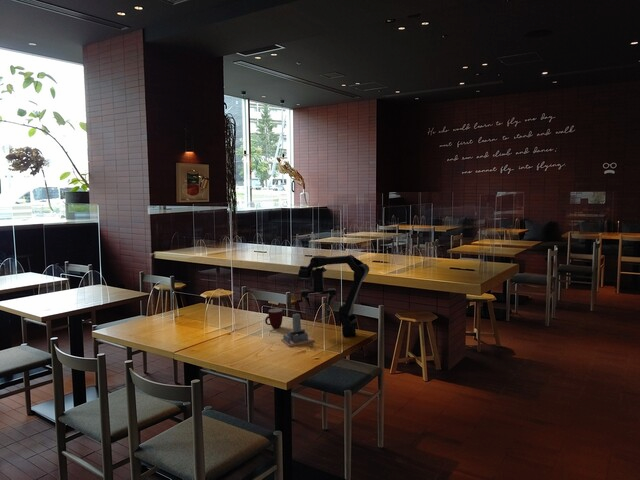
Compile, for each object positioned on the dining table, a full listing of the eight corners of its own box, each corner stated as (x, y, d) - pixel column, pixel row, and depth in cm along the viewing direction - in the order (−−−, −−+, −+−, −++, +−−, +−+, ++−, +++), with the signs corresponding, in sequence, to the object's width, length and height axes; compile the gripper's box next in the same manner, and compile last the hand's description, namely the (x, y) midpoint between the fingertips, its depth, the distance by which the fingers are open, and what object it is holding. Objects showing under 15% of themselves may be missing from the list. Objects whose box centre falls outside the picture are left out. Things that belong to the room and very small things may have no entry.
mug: (271, 332, 261) (270, 314, 260) (262, 329, 267) (261, 311, 266) (286, 327, 268) (285, 310, 267) (277, 324, 274) (276, 307, 273)
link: (301, 335, 250) (300, 311, 249) (308, 340, 243) (306, 315, 242) (287, 338, 247) (285, 314, 245) (293, 343, 240) (292, 317, 238)
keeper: (305, 335, 253) (305, 328, 252) (314, 341, 244) (314, 333, 243) (281, 341, 247) (280, 333, 246) (289, 346, 238) (288, 339, 237)
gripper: (334, 275, 263) (335, 303, 265) (300, 277, 262) (301, 305, 264) (335, 280, 252) (337, 308, 254) (300, 281, 251) (301, 310, 253)
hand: (319, 308), depth 257 cm, fingers open, 9 cm apart
